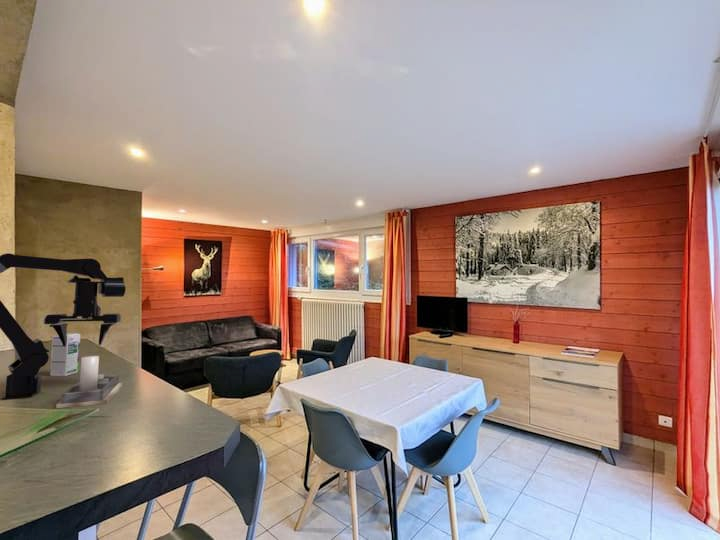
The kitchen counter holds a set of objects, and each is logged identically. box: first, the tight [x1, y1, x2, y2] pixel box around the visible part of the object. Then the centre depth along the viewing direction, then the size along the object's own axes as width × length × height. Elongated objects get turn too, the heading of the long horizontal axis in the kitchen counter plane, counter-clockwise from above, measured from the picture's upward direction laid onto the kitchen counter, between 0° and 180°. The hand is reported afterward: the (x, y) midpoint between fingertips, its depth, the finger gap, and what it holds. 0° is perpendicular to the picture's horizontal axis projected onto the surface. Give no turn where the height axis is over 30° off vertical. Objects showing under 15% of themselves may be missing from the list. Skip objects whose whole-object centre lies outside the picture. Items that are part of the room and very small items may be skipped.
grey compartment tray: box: [55, 373, 123, 409], centre depth 102 cm, size 11×18×5 cm, turn 24°
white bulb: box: [77, 355, 101, 392], centre depth 98 cm, size 6×6×11 cm
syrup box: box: [50, 332, 81, 377], centre depth 125 cm, size 6×6×14 cm
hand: (82, 345), depth 112 cm, fingers open, 9 cm apart
